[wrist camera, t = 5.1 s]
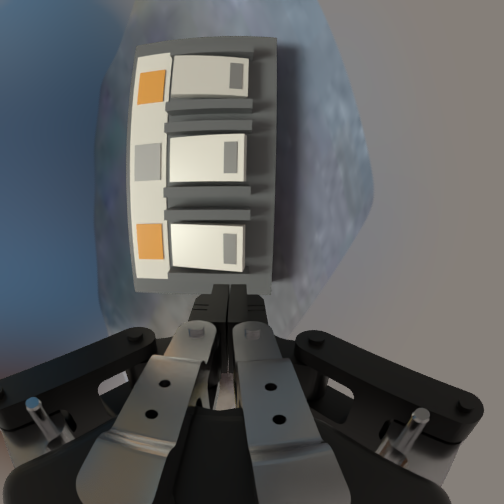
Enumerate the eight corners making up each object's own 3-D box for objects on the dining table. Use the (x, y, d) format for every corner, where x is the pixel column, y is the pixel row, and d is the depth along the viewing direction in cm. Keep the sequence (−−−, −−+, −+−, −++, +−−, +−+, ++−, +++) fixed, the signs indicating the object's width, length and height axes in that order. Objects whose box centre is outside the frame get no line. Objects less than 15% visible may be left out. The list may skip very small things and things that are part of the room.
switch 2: (175, 221, 22) (170, 224, 21) (245, 224, 21) (242, 226, 20) (177, 262, 23) (172, 266, 22) (244, 267, 22) (242, 272, 21)
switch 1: (174, 60, 17) (174, 55, 16) (245, 62, 19) (249, 58, 18) (171, 97, 18) (171, 94, 17) (244, 99, 20) (248, 96, 19)
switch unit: (146, 56, 21) (129, 37, 16) (272, 50, 21) (279, 27, 17) (144, 280, 27) (128, 300, 22) (267, 282, 28) (273, 304, 23)
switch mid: (175, 139, 20) (169, 137, 19) (246, 135, 20) (244, 133, 19) (175, 181, 21) (169, 182, 20) (246, 181, 21) (243, 181, 20)
